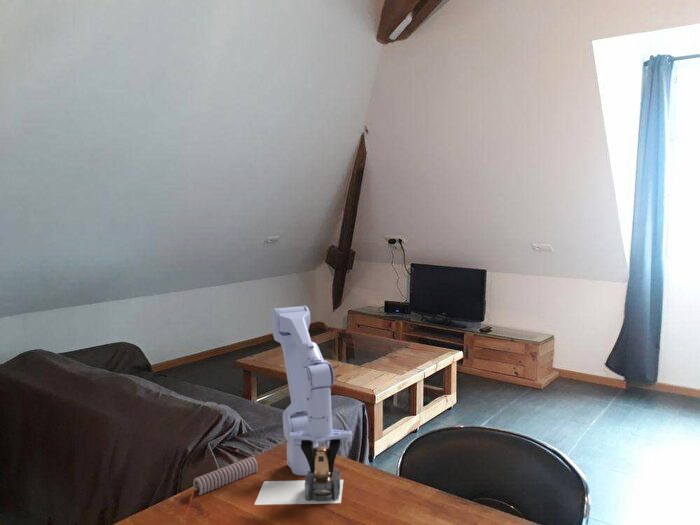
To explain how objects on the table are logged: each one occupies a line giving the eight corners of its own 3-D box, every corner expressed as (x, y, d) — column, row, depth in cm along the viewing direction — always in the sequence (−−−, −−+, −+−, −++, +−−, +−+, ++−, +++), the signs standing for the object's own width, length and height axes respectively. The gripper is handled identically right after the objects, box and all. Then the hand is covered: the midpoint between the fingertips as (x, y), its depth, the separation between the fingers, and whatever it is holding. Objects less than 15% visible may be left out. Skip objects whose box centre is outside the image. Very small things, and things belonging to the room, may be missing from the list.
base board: (254, 508, 130) (254, 504, 129) (264, 485, 142) (264, 481, 141) (341, 507, 129) (340, 502, 129) (343, 483, 141) (343, 479, 141)
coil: (199, 483, 135) (261, 459, 147) (189, 476, 138) (250, 453, 151) (199, 501, 135) (260, 476, 148) (189, 493, 139) (250, 469, 151)
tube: (314, 482, 135) (313, 446, 135) (331, 482, 135) (330, 445, 135) (313, 490, 131) (312, 453, 131) (330, 490, 131) (329, 452, 131)
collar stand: (304, 501, 130) (303, 484, 130) (308, 485, 138) (307, 469, 138) (338, 500, 130) (338, 484, 129) (340, 485, 138) (340, 469, 137)
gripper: (286, 421, 129) (289, 479, 130) (349, 419, 128) (352, 477, 129) (290, 411, 136) (293, 466, 137) (350, 409, 135) (353, 464, 136)
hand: (322, 470), depth 134 cm, fingers closed on tube, 4 cm apart
